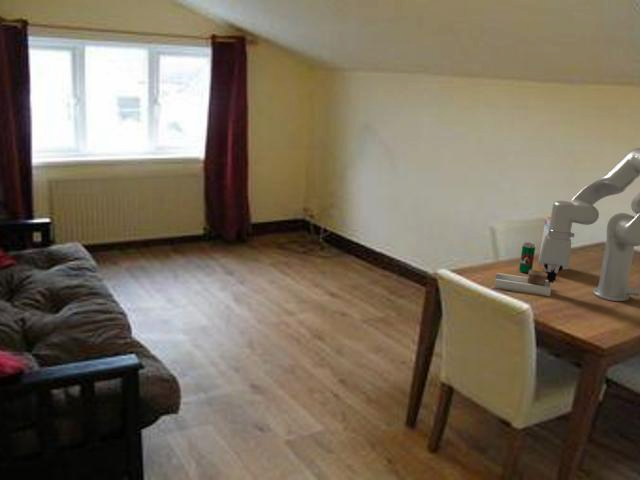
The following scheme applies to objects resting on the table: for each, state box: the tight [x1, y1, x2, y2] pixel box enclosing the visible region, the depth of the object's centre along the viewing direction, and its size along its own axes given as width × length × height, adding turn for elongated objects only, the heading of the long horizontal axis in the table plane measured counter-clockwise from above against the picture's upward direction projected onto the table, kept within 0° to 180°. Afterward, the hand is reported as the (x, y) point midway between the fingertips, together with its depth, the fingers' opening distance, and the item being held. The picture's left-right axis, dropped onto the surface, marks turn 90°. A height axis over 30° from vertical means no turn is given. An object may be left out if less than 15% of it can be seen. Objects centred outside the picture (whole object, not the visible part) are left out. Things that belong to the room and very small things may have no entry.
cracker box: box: [537, 216, 555, 273], centre depth 260 cm, size 14×6×21 cm, turn 168°
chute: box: [494, 272, 552, 297], centre depth 236 cm, size 20×9×3 cm, turn 72°
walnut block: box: [527, 269, 547, 286], centre depth 234 cm, size 6×6×6 cm
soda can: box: [518, 242, 536, 274], centre depth 254 cm, size 5×5×12 cm
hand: (550, 281), depth 232 cm, fingers closed
